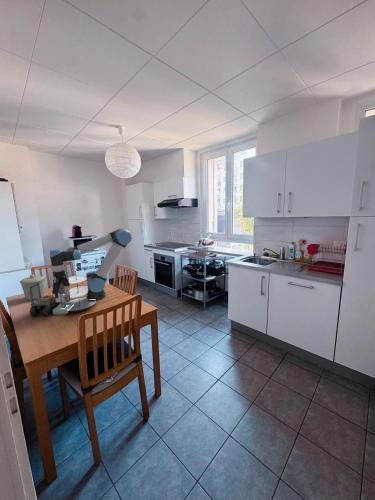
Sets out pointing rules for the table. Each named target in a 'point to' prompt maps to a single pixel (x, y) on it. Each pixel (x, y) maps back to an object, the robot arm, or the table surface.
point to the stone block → (62, 290)
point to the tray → (62, 311)
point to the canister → (31, 281)
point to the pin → (62, 300)
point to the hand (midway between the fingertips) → (63, 298)
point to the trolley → (42, 303)
